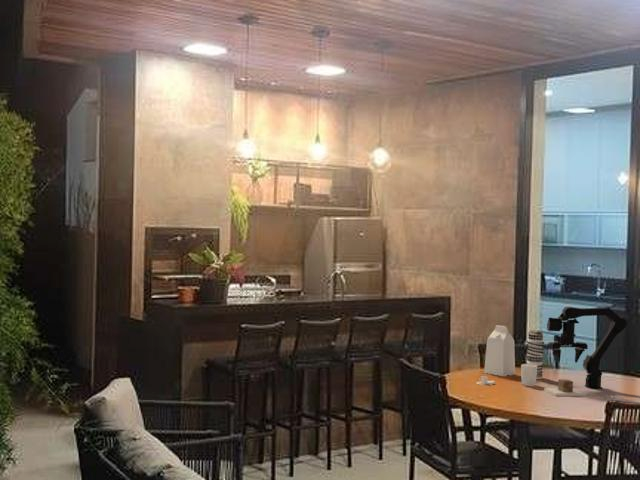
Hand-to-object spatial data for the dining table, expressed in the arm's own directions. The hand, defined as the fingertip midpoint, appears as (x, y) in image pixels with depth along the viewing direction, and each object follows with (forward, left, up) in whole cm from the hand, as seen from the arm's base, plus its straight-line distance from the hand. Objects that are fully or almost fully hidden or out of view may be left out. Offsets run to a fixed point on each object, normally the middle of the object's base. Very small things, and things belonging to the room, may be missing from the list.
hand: (567, 362), depth 398 cm
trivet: (+9, +17, -12) cm, 23 cm away
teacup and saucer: (+40, -3, -13) cm, 42 cm away
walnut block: (+9, +17, -11) cm, 22 cm away
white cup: (+19, -3, -12) cm, 23 cm away
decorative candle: (+7, -23, -12) cm, 27 cm away
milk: (+22, -34, -12) cm, 42 cm away
